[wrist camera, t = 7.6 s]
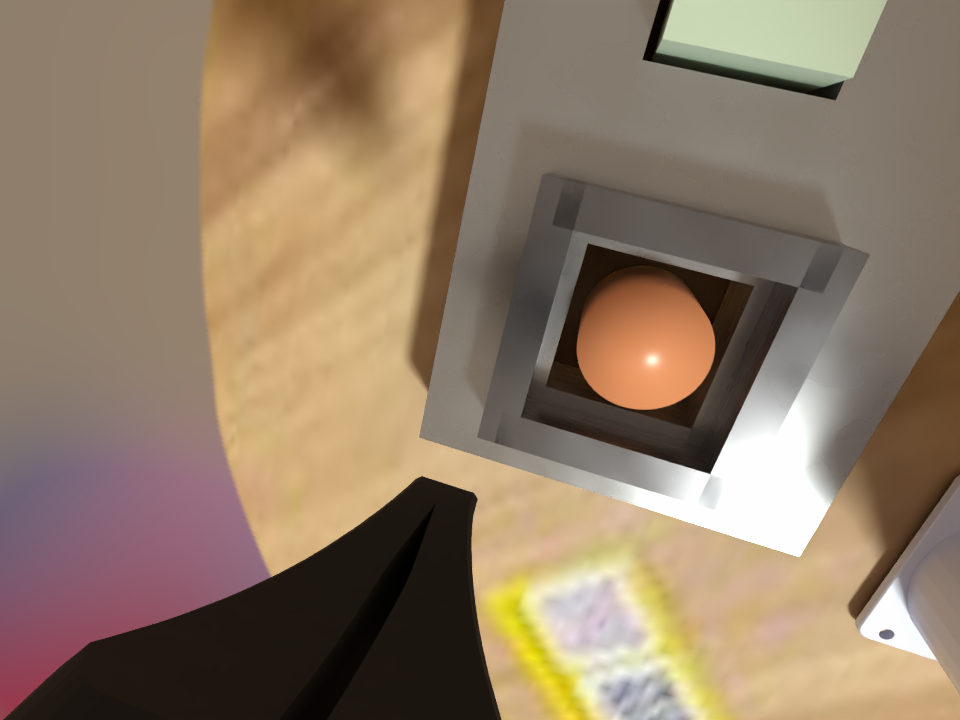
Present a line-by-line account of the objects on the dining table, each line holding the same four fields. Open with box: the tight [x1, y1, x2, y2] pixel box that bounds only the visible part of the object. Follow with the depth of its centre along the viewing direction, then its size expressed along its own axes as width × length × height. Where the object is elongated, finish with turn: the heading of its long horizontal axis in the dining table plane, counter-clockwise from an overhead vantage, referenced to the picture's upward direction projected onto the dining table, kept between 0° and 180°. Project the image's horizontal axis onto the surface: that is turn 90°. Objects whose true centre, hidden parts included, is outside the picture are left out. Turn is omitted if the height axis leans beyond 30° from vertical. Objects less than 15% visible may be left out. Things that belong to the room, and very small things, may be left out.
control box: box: [419, 0, 960, 556], centre depth 15 cm, size 14×22×4 cm, turn 168°
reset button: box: [577, 266, 715, 410], centre depth 17 cm, size 4×4×3 cm
